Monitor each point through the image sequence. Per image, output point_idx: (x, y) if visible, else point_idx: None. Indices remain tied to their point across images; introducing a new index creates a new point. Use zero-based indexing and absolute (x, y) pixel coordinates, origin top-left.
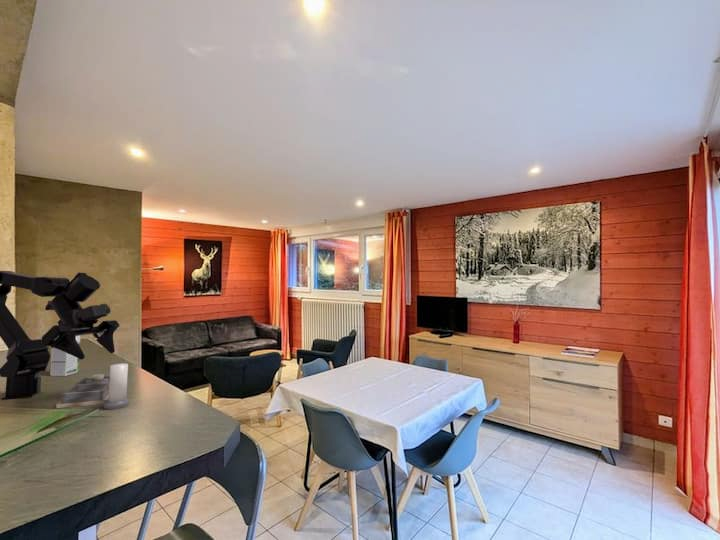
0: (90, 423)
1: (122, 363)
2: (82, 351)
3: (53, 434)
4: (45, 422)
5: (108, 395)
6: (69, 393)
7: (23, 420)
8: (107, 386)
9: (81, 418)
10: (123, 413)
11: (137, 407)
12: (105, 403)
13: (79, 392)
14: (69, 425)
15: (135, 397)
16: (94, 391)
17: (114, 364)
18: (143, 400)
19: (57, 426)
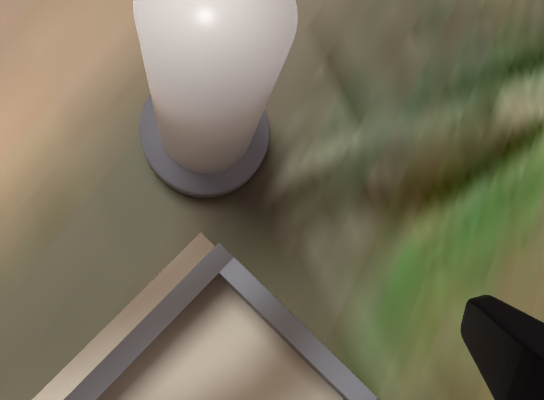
0: (405, 26)
1: (150, 46)
2: (536, 352)
3: (527, 44)
4: (490, 215)
5: (135, 318)
6: (358, 386)
7: None
8: (128, 339)
9: (391, 121)
10: None
11: None
12: (268, 141)
13: (315, 351)
14: (457, 83)
15: (39, 193)
16: (254, 285)
17: (225, 76)
18: (66, 95)
19: (486, 116)
